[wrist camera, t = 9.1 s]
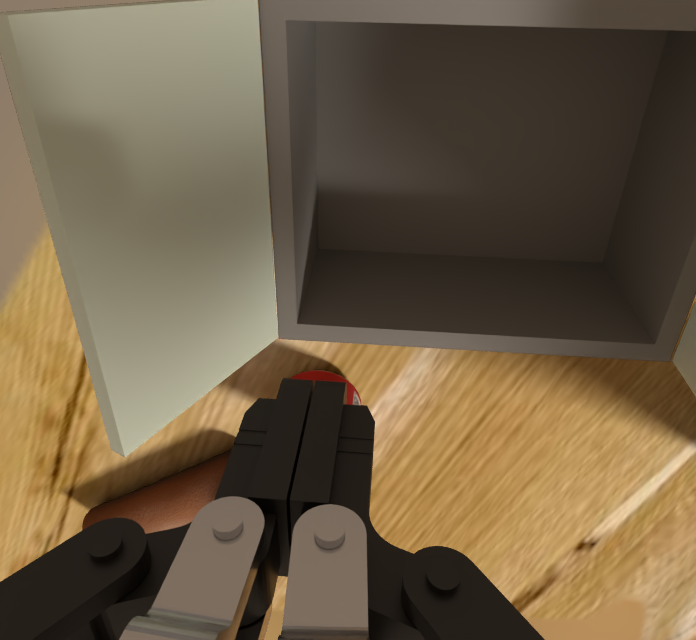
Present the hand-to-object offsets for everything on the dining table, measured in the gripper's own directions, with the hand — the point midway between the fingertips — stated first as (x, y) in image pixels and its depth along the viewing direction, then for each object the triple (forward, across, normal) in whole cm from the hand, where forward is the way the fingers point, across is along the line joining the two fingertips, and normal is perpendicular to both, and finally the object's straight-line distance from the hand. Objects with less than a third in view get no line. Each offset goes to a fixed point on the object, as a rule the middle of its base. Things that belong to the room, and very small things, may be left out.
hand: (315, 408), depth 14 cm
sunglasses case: (+25, +14, +35) cm, 45 cm away
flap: (+14, +4, 0) cm, 15 cm away
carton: (+24, -6, 0) cm, 25 cm away
